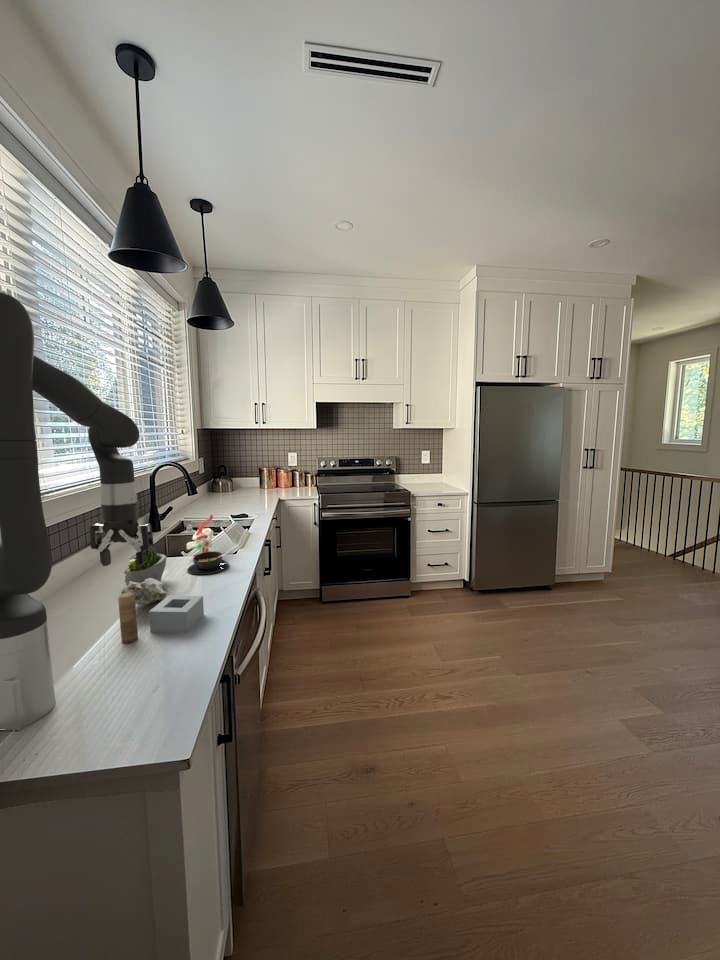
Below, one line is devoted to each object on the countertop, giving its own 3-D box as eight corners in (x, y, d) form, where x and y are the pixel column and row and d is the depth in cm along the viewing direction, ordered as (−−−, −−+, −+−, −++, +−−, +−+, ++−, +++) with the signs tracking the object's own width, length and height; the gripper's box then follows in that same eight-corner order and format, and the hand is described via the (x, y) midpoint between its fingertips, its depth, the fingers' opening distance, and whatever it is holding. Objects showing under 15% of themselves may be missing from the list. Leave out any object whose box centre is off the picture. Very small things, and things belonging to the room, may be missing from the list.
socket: (187, 633, 103) (186, 612, 103) (150, 633, 104) (148, 611, 103) (203, 615, 113) (202, 596, 112) (169, 615, 113) (168, 595, 113)
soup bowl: (212, 560, 162) (211, 543, 161) (238, 568, 153) (238, 549, 152) (179, 571, 149) (178, 552, 148) (205, 580, 141) (204, 560, 140)
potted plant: (123, 584, 136) (119, 542, 134) (163, 576, 144) (161, 536, 142) (127, 596, 127) (124, 551, 125) (170, 586, 134) (168, 544, 132)
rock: (159, 617, 112) (157, 584, 111) (117, 622, 109) (115, 588, 108) (172, 591, 130) (170, 562, 129) (136, 595, 127) (134, 565, 126)
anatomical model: (187, 553, 170) (185, 513, 168) (213, 550, 174) (211, 511, 172) (187, 564, 156) (184, 520, 154) (215, 561, 161) (213, 518, 158)
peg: (132, 644, 98) (129, 599, 96) (118, 644, 98) (114, 598, 96) (141, 637, 101) (137, 592, 100) (127, 637, 102) (124, 592, 100)
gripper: (79, 503, 92) (84, 570, 94) (139, 503, 91) (143, 571, 93) (100, 498, 99) (105, 560, 101) (156, 498, 99) (160, 560, 101)
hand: (123, 565), depth 97 cm, fingers open, 8 cm apart
